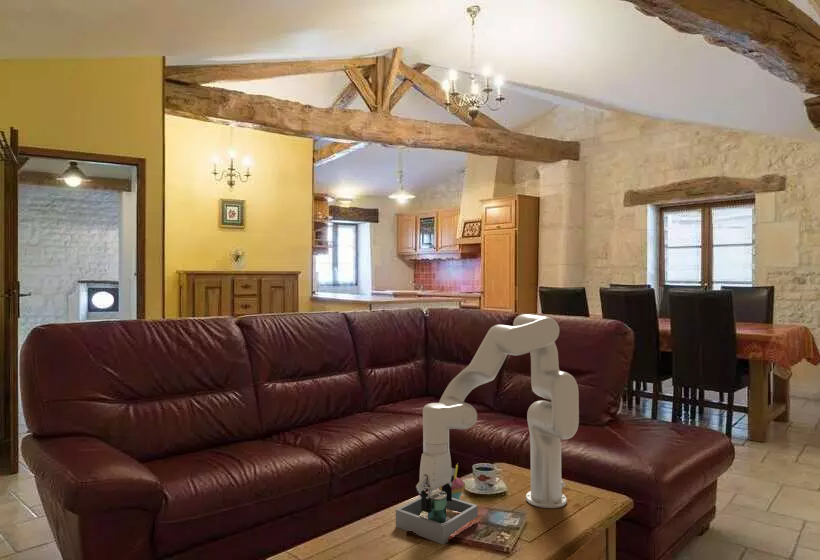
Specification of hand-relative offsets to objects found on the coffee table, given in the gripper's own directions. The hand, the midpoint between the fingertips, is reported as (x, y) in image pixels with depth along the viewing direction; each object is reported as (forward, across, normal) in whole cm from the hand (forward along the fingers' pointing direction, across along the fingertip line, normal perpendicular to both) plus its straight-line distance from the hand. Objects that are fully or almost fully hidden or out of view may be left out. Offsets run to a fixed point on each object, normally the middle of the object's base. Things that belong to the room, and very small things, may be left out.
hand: (436, 505), depth 163 cm
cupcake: (+6, -17, -7) cm, 19 cm away
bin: (+6, 0, 0) cm, 6 cm away
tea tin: (+5, 0, 0) cm, 5 cm away
